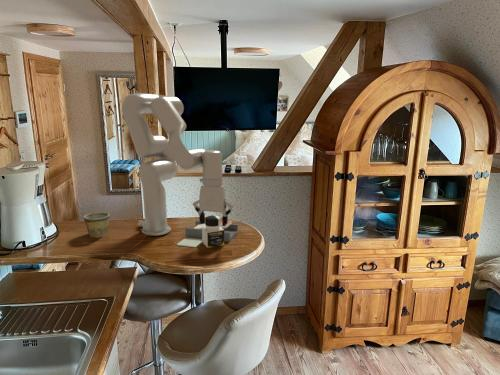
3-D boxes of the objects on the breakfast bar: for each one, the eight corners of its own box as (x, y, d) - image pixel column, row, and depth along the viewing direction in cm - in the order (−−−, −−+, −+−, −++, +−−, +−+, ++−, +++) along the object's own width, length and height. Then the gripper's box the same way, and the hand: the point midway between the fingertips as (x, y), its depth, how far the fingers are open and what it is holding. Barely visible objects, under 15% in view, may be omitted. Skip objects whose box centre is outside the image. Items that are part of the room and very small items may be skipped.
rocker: (192, 231, 160) (192, 228, 160) (198, 227, 167) (198, 224, 166) (226, 227, 156) (226, 224, 155) (231, 223, 162) (231, 220, 162)
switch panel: (185, 237, 159) (185, 226, 158) (196, 228, 170) (196, 218, 169) (229, 241, 154) (229, 230, 153) (238, 232, 165) (237, 222, 164)
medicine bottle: (207, 248, 147) (207, 220, 145) (202, 243, 153) (201, 215, 151) (224, 246, 150) (224, 217, 148) (218, 240, 156) (217, 213, 154)
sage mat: (176, 245, 150) (176, 244, 149) (185, 238, 158) (185, 237, 157) (195, 247, 147) (195, 246, 147) (204, 240, 155) (204, 239, 155)
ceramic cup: (102, 243, 152) (100, 219, 150) (80, 241, 154) (78, 218, 151) (119, 232, 164) (117, 211, 162) (99, 231, 166) (97, 209, 164)
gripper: (188, 182, 143) (189, 225, 147) (230, 185, 139) (231, 229, 142) (196, 179, 150) (197, 219, 154) (236, 181, 146) (236, 223, 149)
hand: (213, 224), depth 148 cm, fingers open, 9 cm apart
